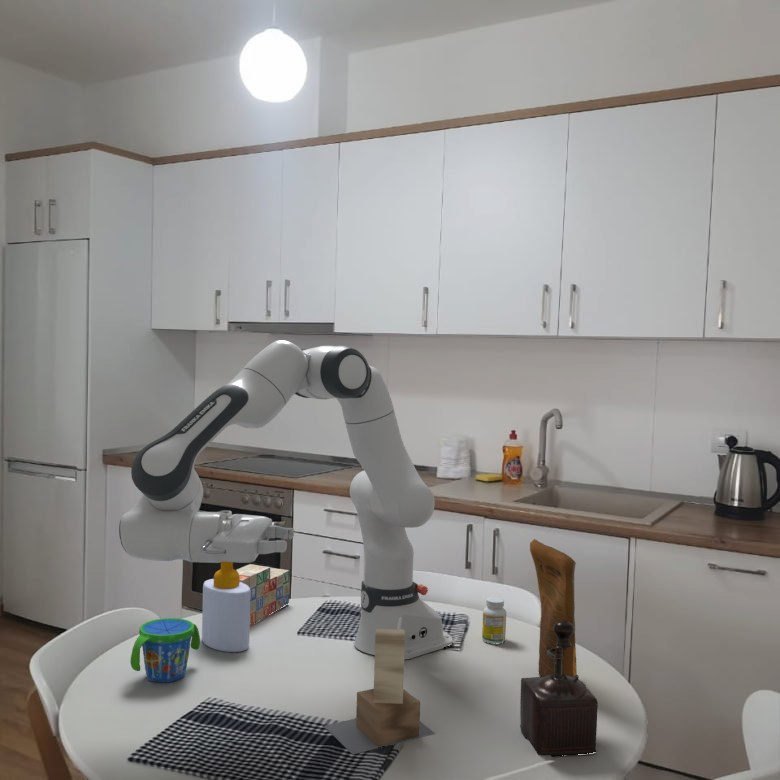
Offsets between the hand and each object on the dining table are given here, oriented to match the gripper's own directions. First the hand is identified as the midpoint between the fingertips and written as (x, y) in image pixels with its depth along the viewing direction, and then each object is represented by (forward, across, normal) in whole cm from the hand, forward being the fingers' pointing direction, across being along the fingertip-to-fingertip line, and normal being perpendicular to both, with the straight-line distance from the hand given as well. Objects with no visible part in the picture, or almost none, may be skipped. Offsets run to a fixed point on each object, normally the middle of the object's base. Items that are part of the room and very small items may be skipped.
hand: (290, 539), depth 141 cm
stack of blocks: (-15, +53, +32) cm, 64 cm away
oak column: (+18, -5, +26) cm, 32 cm away
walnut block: (+18, -5, +32) cm, 37 cm away
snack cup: (-26, +16, +32) cm, 44 cm away
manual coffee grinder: (+47, -3, +32) cm, 57 cm away
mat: (+17, -5, +32) cm, 36 cm away
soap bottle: (-18, +34, +32) cm, 50 cm away
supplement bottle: (+42, +41, +32) cm, 67 cm away
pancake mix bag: (+52, +18, +32) cm, 63 cm away
